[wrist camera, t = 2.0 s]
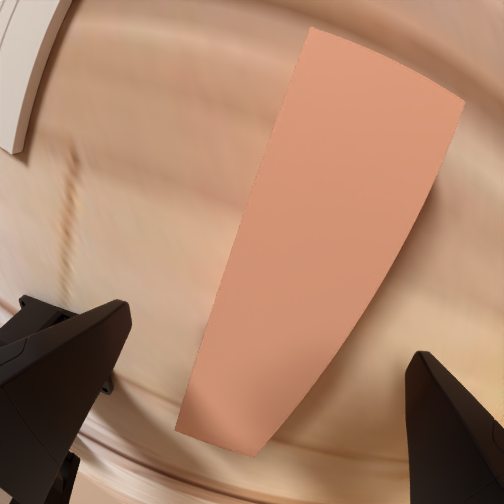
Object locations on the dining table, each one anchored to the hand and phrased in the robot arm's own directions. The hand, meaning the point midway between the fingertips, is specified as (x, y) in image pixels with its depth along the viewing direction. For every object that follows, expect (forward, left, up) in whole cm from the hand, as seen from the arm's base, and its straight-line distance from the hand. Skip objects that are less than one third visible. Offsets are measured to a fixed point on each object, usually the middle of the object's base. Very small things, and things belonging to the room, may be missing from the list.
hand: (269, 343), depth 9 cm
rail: (0, 0, -4) cm, 4 cm away
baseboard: (+21, +13, -5) cm, 25 cm away
